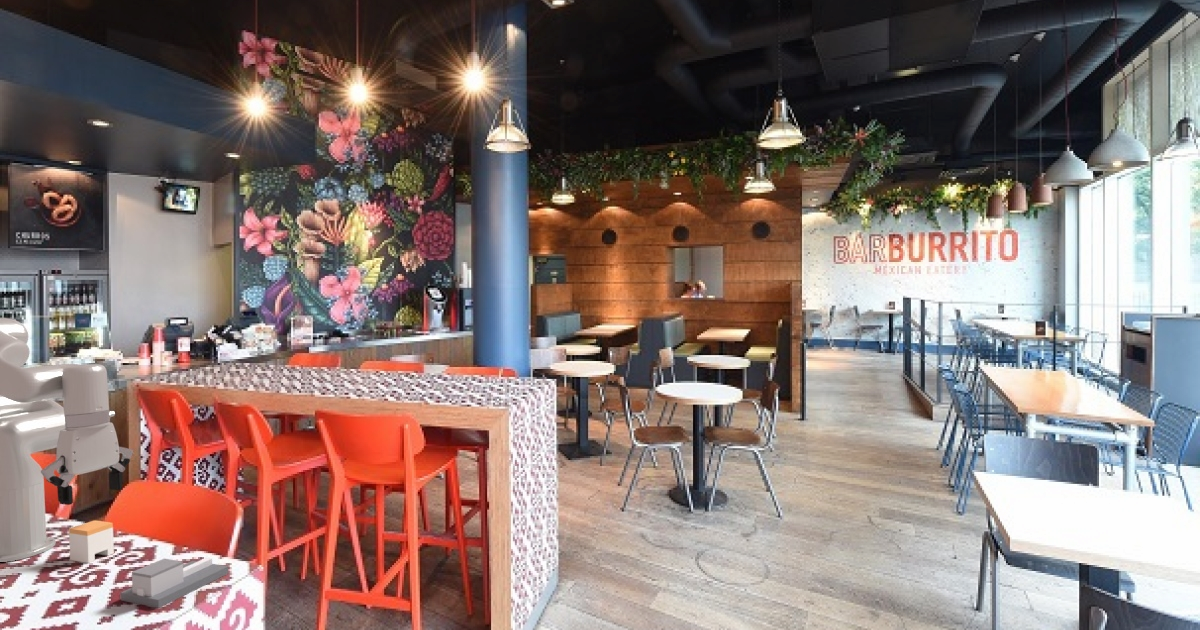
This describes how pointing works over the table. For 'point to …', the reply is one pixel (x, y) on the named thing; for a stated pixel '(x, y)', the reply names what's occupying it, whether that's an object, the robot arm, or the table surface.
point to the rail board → (179, 588)
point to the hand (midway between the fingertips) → (92, 496)
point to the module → (91, 541)
